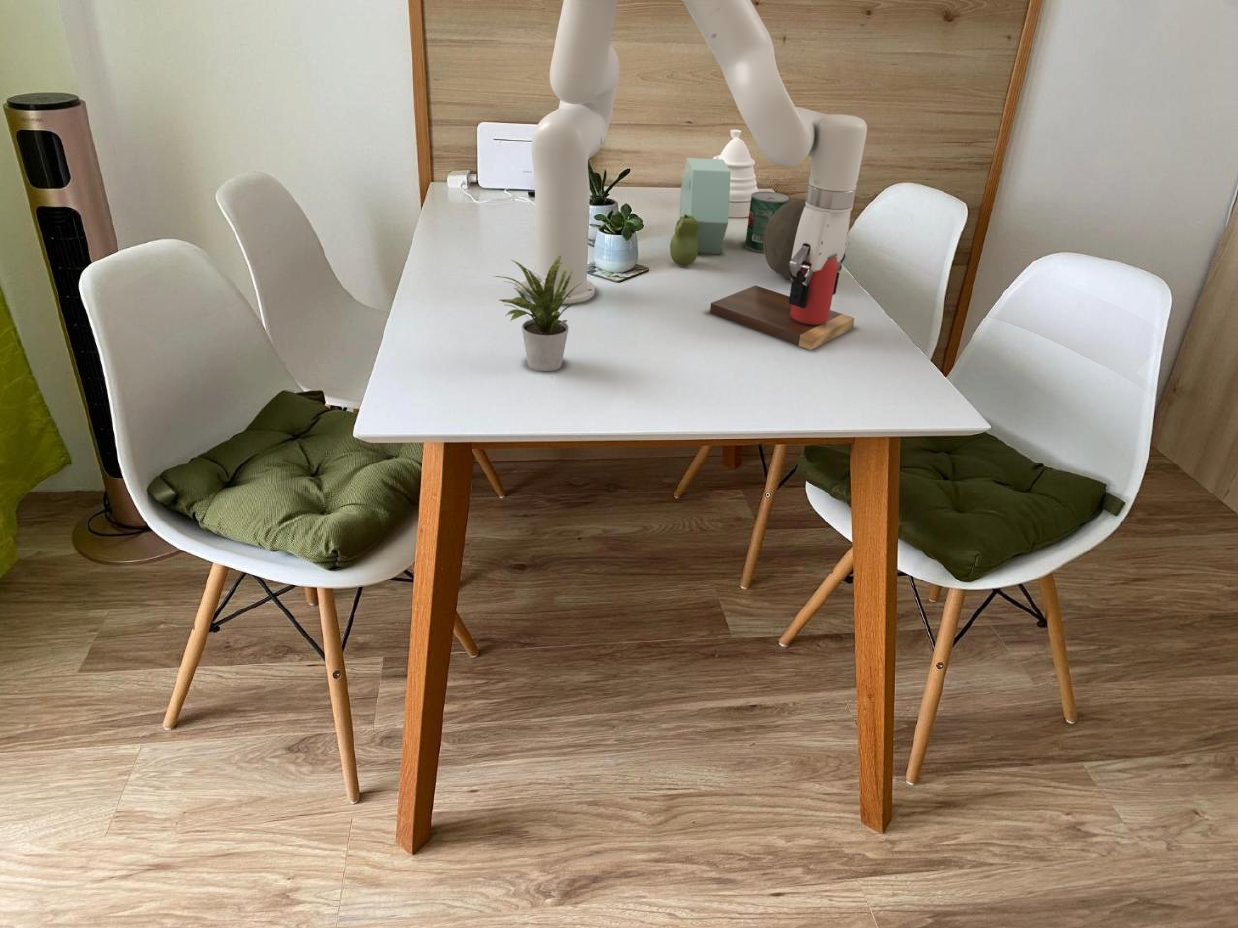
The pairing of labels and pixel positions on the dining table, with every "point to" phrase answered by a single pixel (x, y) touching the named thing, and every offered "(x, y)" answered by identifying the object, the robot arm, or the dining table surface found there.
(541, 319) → the house plant
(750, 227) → the canned tomato
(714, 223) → the pale green tall block
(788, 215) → the brown coconut
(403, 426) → the dining table surface
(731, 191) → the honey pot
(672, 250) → the pear
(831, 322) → the cutting board
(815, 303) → the beer can
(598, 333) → the dining table surface
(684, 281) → the dining table surface
